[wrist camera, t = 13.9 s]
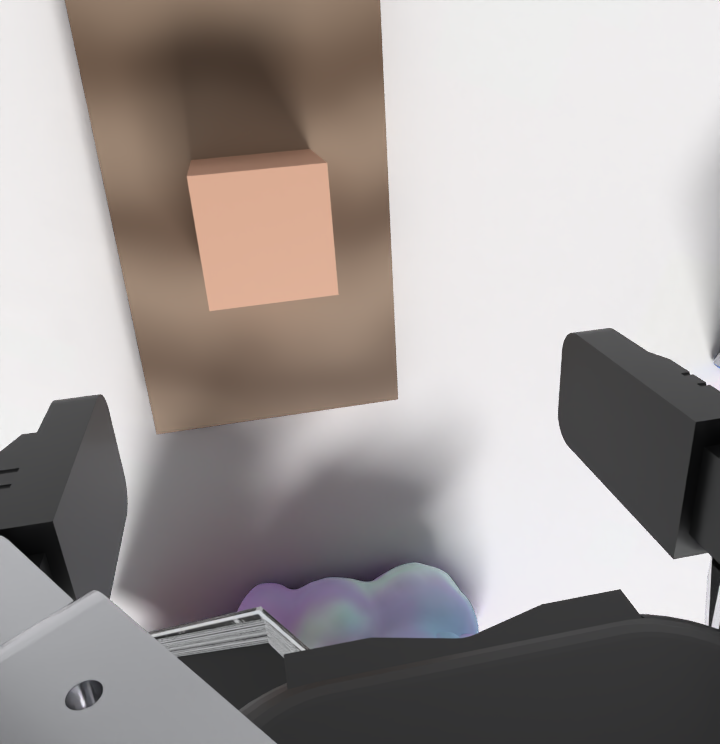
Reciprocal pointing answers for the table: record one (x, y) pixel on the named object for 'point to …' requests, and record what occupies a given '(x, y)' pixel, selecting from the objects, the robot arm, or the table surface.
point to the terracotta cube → (263, 228)
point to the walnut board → (233, 138)
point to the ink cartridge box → (717, 360)
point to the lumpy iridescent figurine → (315, 625)
